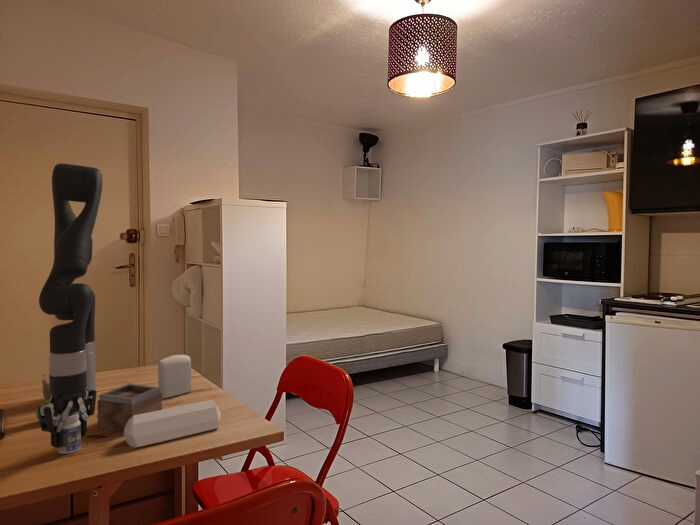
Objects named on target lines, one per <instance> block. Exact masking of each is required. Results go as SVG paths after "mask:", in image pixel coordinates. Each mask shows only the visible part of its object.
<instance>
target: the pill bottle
mask: <svg viewBox="0 0 700 525" xmlns="http://www.w3.org/2000/svg"><path fill="white" fill-rule="evenodd" d="M61 416H62V415H59V416H58V417H61ZM61 431H62V447H60V448H57V452H58V453H59V454H61V455H67V454H72V453H76V452H78V451H79V450H80V449H81V447H82V437H81V422H80V421H79V413H78V412H74V413H71V414H70V415H68V417H67V420H66V421H65V422H64V423H63V426H62V429H61Z"/></svg>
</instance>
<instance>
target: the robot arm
mask: <svg viewBox="0 0 700 525" xmlns="http://www.w3.org/2000/svg"><path fill="white" fill-rule="evenodd" d="M51 192H52V200H53V201H52V202H53V212H54V213H53V214H54V236H53V239H54V240H53V257H54V258H53V265H52V267H51V270H50V273H49V275H48V277H47V278H46V280H45V283H44V285H43V286H42V288H41V291H40V293H39V298H38V305H39V308H40V309H41V311H42V312H43V313H44V314H46V315H50V316H51V315H52V316H54V317H55V319H57V320H58V321H69V322H66V323H61V324H57V325H55V326H53V327H51V329H50V331H49V358H48V383H49V391H50V393H51V401H50V403H49V404H47V405H45V406H40V405H39V406H38V407H37V408H38V414H39V420H40V421H39V420H38V421H39V424H40V430H41V431H42V432H45V433H50V445H51V446H52V448H55V449H58V448H60V447H62V431H61V429H62V426H63V423H64V422H65V421H66V420H67V417H68V415H70V414H71V413H74V412H78V413H79V421H80V422H81V438H83V437H86V434H87V431H88V423H87V422H88V419H89V417H90V416H93V415H94V414H95V409H96V402H97V401H96V400H97V390H96V347H95V346H96V338H95V337H96V336H95V335H96V334H95V322H96V321H95V319H96V318H95V315H96V295H95V292H94V290H92V288H91V286H89V285H88V284H86V283H81V282H80V283H74V282H75V280H76V279H79V278H81V277H84V276H85V275H86V274H87V271H88V266H90V264H91V262H92V259H93V246H94V245H93V243H94V242H93V238H92V235H93V231H94V228H95V224H96V220H97V217H98V211H99V207H100V201H101V197H102V192H103V175H102V171H101V170H100V169H98V168H97V167H93V166H87V165H86V166H85V165H79V164H78V165H76V164H70V163H57V164H56V165H55V166H54V167H53V170H52V174H51ZM70 202H77V203H84V206H83V209H82V210H81V212H80V213H79V214H78V216H77V215H76V213H74V210H73V209H72V206H71V204H70ZM52 409H53V411H52ZM58 414H59V416H60V415H62V416H61V417H59V416H58Z"/></svg>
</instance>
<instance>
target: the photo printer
mask: <svg viewBox="0 0 700 525" xmlns="http://www.w3.org/2000/svg"><path fill="white" fill-rule="evenodd" d="M157 376H158V378H157V384H158V385H157V387H159V388H160V393H162V400H163V399H167V398H171V397H176V396H180V395H184V394H186V393H190V392H192V360H191V357H190V356H189V355H186V354H175V355H174V354H173V355H171V356H170V355H169V356H168V357H165V358H163V359H161V360H159V361H158V364H157Z"/></svg>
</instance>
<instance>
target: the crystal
mask: <svg viewBox="0 0 700 525" xmlns="http://www.w3.org/2000/svg"><path fill="white" fill-rule="evenodd" d="M221 415H222V412H221V411H220V409H219V407H218V405H217V403H216V402H215V401H214V399H210V400H209V399H208V400H204V401H199V402H193V403H190V404H184V405H179V406H174V407H173V406H172V407H169V408H162V410H158V411H153V412H148V413H143V414H138V415H134V416H132V417H131V418H130V419H129V420H128V422H127V424H126V426H125V428H124V432H123V435H124V436H123V437H124V439H125V443H126V444H127V445H128V446H130V447H131V448H134V449H135V448H140V447H144V446H148V445H152V444H153V445H154V444H158V443H161V442H165V441H166V442H167V441H169V440H174V439H179V438H183V437H187V436H190V435H195V434H198V433H199V434H200V433H203V432H204V433H205V432H207V431H211V430H215V429H216V430H217V429H218V428H219V426H220V422H221Z"/></svg>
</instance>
